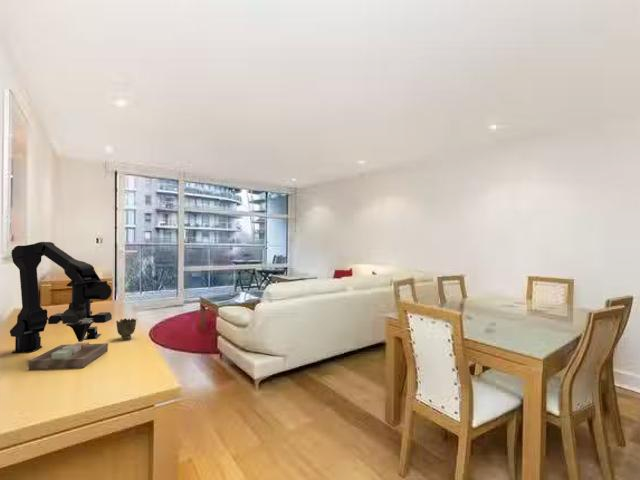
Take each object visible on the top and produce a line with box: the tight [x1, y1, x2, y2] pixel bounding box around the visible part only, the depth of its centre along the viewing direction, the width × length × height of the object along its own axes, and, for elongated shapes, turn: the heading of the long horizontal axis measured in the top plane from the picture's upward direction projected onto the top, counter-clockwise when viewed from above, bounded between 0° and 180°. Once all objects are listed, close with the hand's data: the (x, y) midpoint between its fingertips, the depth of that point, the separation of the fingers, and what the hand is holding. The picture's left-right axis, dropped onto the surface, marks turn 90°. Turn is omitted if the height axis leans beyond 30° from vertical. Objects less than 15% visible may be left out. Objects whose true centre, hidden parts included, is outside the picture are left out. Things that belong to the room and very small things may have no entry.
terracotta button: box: [75, 341, 90, 348], centre depth 123 cm, size 4×4×3 cm
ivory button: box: [62, 343, 81, 353], centre depth 117 cm, size 4×4×3 cm
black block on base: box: [83, 325, 102, 341], centre depth 146 cm, size 12×7×5 cm, turn 21°
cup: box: [115, 318, 137, 341], centre depth 143 cm, size 8×7×8 cm
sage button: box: [51, 349, 72, 359], centre depth 112 cm, size 4×4×3 cm
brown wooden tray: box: [28, 342, 109, 371], centre depth 117 cm, size 16×17×3 cm
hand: (80, 341), depth 123 cm, fingers closed
